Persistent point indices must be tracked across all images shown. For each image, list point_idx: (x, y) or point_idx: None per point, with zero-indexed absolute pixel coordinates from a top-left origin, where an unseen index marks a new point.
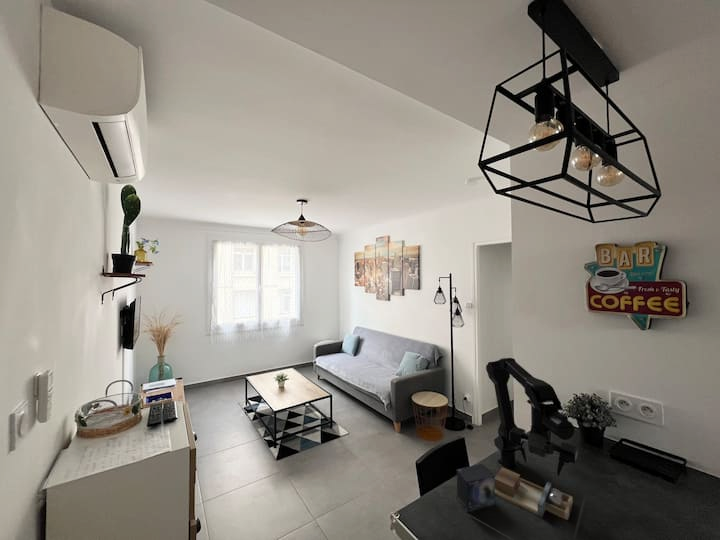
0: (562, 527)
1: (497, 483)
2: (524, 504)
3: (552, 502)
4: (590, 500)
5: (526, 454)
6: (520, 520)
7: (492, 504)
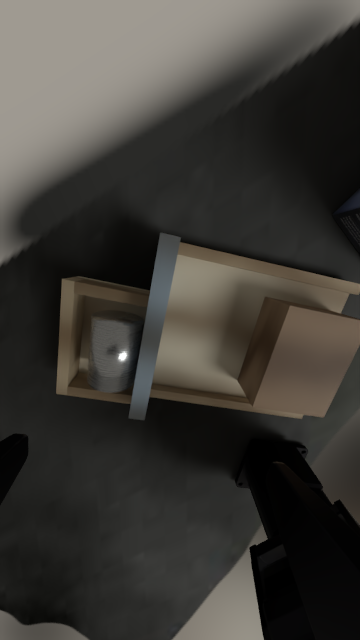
0: (94, 236)
1: (342, 315)
2: (228, 264)
3: (123, 319)
4: (25, 422)
5: (323, 579)
6: (239, 185)
7: (353, 198)
